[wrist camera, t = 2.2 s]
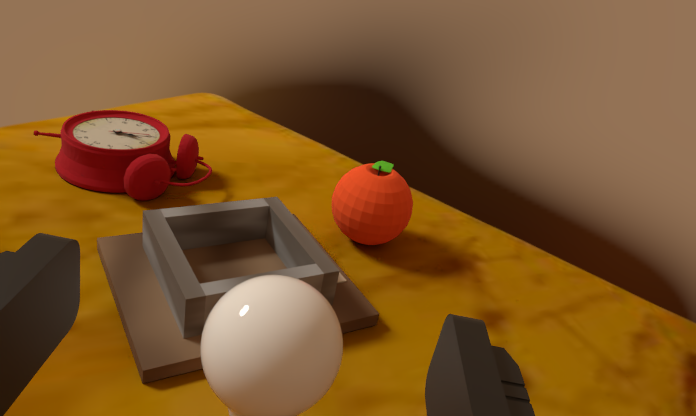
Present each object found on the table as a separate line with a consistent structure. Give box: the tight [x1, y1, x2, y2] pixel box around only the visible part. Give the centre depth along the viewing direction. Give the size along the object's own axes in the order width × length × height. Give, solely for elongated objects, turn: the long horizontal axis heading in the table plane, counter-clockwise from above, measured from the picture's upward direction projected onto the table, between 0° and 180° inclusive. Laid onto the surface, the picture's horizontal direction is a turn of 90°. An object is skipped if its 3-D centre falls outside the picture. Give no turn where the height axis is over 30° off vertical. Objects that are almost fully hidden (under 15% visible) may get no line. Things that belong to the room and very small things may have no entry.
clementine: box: [332, 161, 413, 245], centre depth 50 cm, size 8×7×7 cm
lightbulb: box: [200, 275, 343, 416], centre depth 27 cm, size 6×6×11 cm
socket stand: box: [97, 197, 379, 383], centre depth 41 cm, size 16×14×4 cm
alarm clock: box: [34, 110, 212, 201], centre depth 53 cm, size 10×6×15 cm
